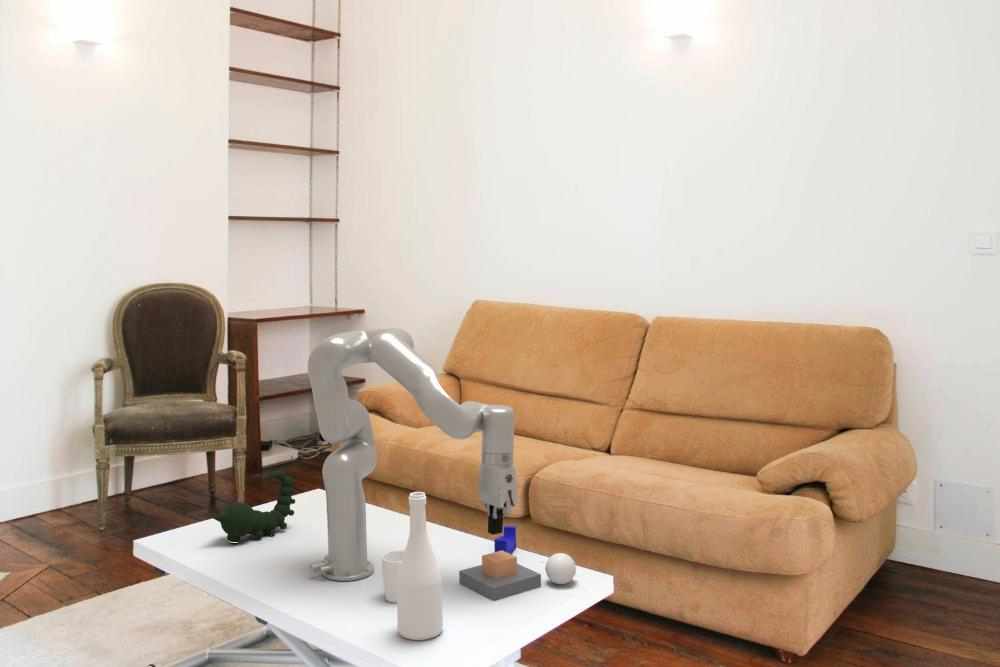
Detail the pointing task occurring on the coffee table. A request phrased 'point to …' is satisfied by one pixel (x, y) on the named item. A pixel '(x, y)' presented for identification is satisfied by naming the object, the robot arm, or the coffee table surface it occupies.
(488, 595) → the flat gray square plate
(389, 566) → the white cup
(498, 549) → the cable clip
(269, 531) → the toy figurine
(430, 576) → the wine bottle
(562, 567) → the white piece
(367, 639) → the coffee table surface
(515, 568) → the tan block
